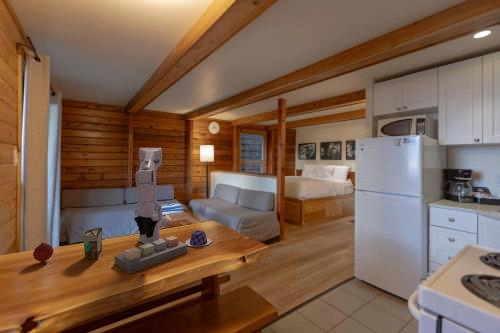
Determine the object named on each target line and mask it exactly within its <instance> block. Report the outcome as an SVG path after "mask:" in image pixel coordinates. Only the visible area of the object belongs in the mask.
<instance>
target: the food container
mask: <svg viewBox="0 0 500 333" xmlns="http://www.w3.org/2000/svg"><path fill="white" fill-rule="evenodd" d="M80 239H81V241H83V250H84V257H85V258H84V259H85V260H87V261H98V260H99V259H100V256H101V254H102V252H103V227H102V226H101V227H94V228H89V229H87V230H84V231H83V232H82V234H81V236H80Z"/></svg>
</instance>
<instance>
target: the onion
mask: <svg viewBox="0 0 500 333" xmlns="http://www.w3.org/2000/svg"><path fill="white" fill-rule="evenodd" d="M54 252H55V251H54V248H53V246H52V245H51V244H49V243H46V242H45V241H43V240H41V242H40V244H39V245H38V246H37V247H36V248H35V249H34V250H33V252H32V256H33V258H34V260H36V261H38V262H40V263H45V262H47V261H48V260H50V259H51V258H52V256H53V255H54Z"/></svg>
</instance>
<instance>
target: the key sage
mask: <svg viewBox="0 0 500 333" xmlns="http://www.w3.org/2000/svg"><path fill="white" fill-rule="evenodd" d="M138 248H139V249H140V252H141V254H142V255H147V254H150V253H153V252H154V245H152V244H150V243H147V244H144V243H143V244H141V245H139V246H138Z"/></svg>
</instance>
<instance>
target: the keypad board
mask: <svg viewBox="0 0 500 333" xmlns="http://www.w3.org/2000/svg"><path fill="white" fill-rule="evenodd" d="M137 248H138V249H139V247H137ZM188 250H189V249H188V245H187V244H185V242H182V241H179V240H178V244H177V245H174V246H171V247H169V246H167V248H165V249H162V250H159V251H156V250H154V252H153V253H150V254H147V255H142V254H141V257H139V258H136V259H133V260H130V261H129V260H127V259H126V258H124V252H123V253H120V254H116V255H114V264H115V265H116V266H118V267H119V268H120V269H122V270H124V271H126V273H128V274H133V273H136V272H138V271H141V270H144V269H146V268H148V267H152V266H154V265H156V264H159V263H162V262H165V261H167V260H169V259H171V258H174V257H177V256H180V255H182V254H185V253H187V252H188Z"/></svg>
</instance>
